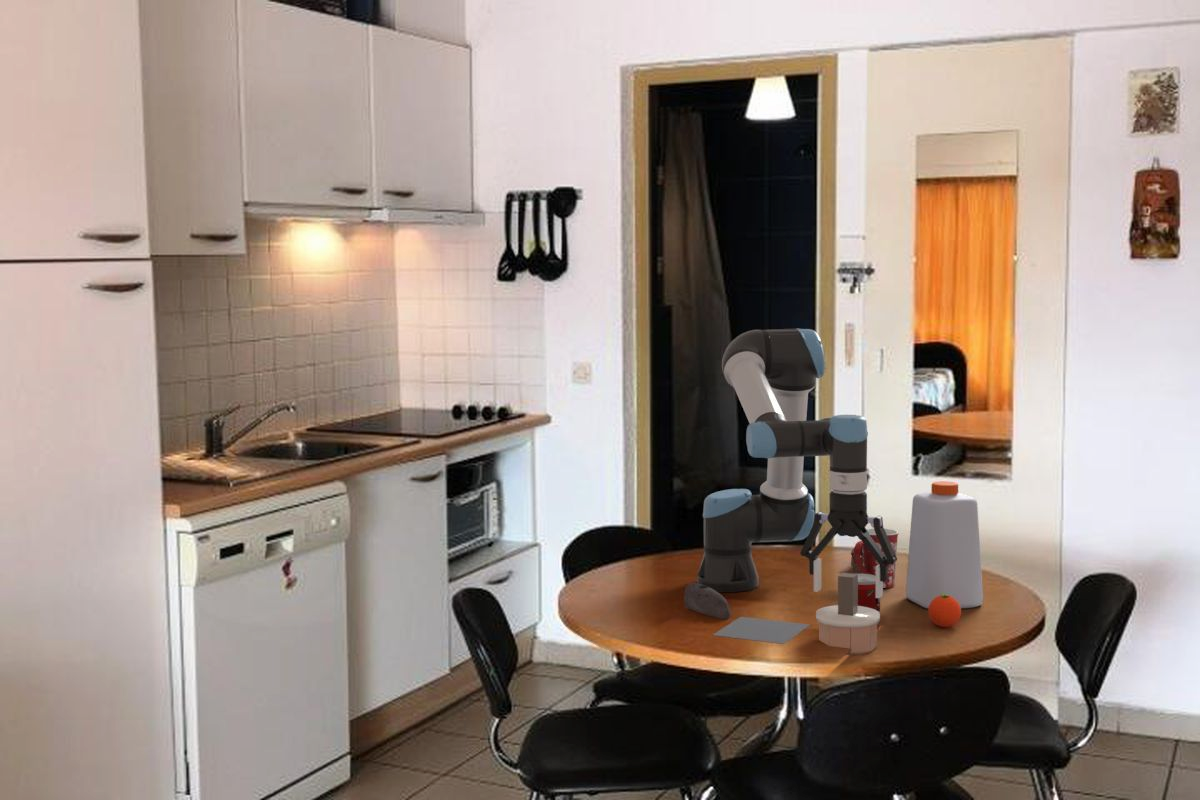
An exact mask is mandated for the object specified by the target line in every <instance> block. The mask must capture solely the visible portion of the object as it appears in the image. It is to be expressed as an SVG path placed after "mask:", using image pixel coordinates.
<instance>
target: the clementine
mask: <svg viewBox="0 0 1200 800" xmlns="http://www.w3.org/2000/svg"><path fill="white" fill-rule="evenodd" d="M928 616H929V618H930V620H931V621H932V623H934V625H936V626H939V627H941V628H950V627H953V626H955V625H957V623H958V622H959V621H960V618H961V617H962V609H961V607H960V605H959V603H958V601H957V600H956V599H954V598H953V597H951V596H948V595H946V594H940V596H937V597H936V598H934V599H933V600H932V601H931V603H930V605H929V609H928Z"/></svg>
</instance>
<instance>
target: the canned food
mask: <svg viewBox="0 0 1200 800" xmlns="http://www.w3.org/2000/svg"><path fill="white" fill-rule="evenodd" d="M857 574H858V606H863V607H868V608H872V609H874V610H877V611H878V612H879V613H880V614H881V597H880V598H876V576H875V575H870V574H862V573H857ZM879 623H881V620H880V621H879V622H878V623H877V630H878V629H879V628H880V624H879ZM878 624H879V625H878Z"/></svg>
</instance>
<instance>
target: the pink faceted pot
mask: <svg viewBox="0 0 1200 800" xmlns="http://www.w3.org/2000/svg"><path fill="white" fill-rule="evenodd" d="M877 627H878V624H874V625H871V626H865V627H837V626H831V625H826V624H823V623H821V622H819V621H818V641H820V642H822V643H823V644H825V645H826V646H828V647H832V648H833V647H834V648H841V649H842V648H844V649H850V650H848V651H847V652H846V653H845V654H844V655H846V656H852V655H853V656H855V655H857V656H858V655H864V654H865V655H866V654H869V653H872V652H874V651H875V650H876V647H877V646H878V629H877Z"/></svg>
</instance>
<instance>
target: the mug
mask: <svg viewBox="0 0 1200 800" xmlns="http://www.w3.org/2000/svg"><path fill="white" fill-rule="evenodd" d="M866 529H867V531H868V532H869V534H870V536H871V538H872V539H873V540H874V542H875V543H876V544H877V546H878V547H879V548H880V550H881V551H882V552H883V554H884V551H883V549H882V547H881V545H880V542H879V540H878V538H877V535H876V533H875V530H874V528H873V527H871V528H869V527H868V528H866ZM884 530H885V532H886V534H887V537H888V539H889V541H890V543H891V546H892V548H893V550H894V552H895V555H896V556H897V551H898V550H897V549H898V536H899V531H898V530H895V529H892V528H884ZM854 547H855V548H854ZM854 547H853V548H854V557H855V561H856V564H857V566H858V568H857V569H859V571H860V574H870V575H875V576H876V566H877V565H879V563H878V562H877V561H876V559H875V558H874V557H873V555H872V554H871V552H870V551H869V550H868V548H867V547H866V546H865V544H864V543H863V542H862V540H860V541H857V542H856V544H855V545H854ZM861 547H862V552H863V563H862V561H861V555H860V551H861ZM884 555H885V554H884ZM896 566H897V561H896V562H894V563H893V564H889V565H888V578H887V580H886V581H885V582H883V588H887V589H892V588H894V587H893V586H895V580H896ZM891 587H892V588H891Z"/></svg>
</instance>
